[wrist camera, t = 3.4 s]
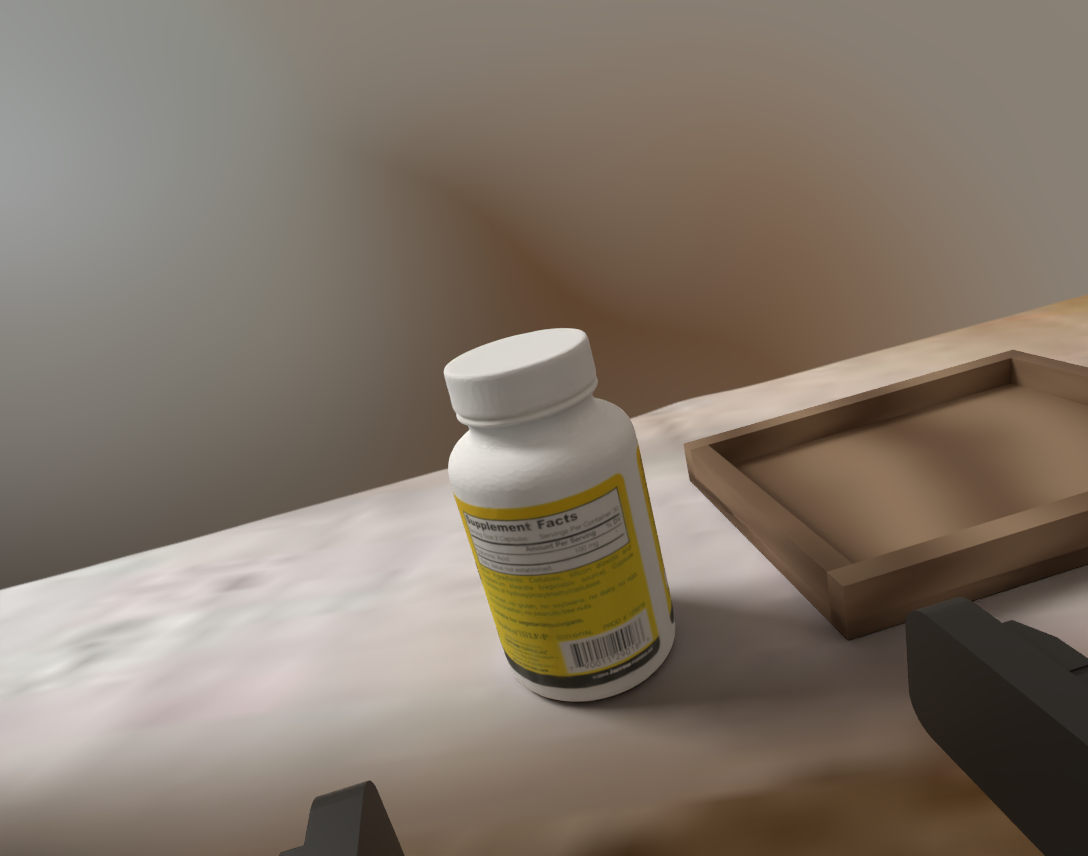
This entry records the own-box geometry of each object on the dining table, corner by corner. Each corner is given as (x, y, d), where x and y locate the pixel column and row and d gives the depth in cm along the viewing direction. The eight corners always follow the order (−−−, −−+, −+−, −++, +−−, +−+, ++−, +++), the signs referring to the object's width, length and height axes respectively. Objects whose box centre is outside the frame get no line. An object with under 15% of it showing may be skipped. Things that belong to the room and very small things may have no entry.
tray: (848, 640, 19) (843, 586, 18) (689, 480, 30) (683, 443, 30) (1338, 483, 20) (1348, 429, 20) (1012, 386, 32) (1012, 349, 31)
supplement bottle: (563, 584, 25) (497, 327, 22) (703, 608, 22) (651, 312, 19) (473, 684, 21) (376, 387, 18) (630, 731, 18) (547, 380, 15)
